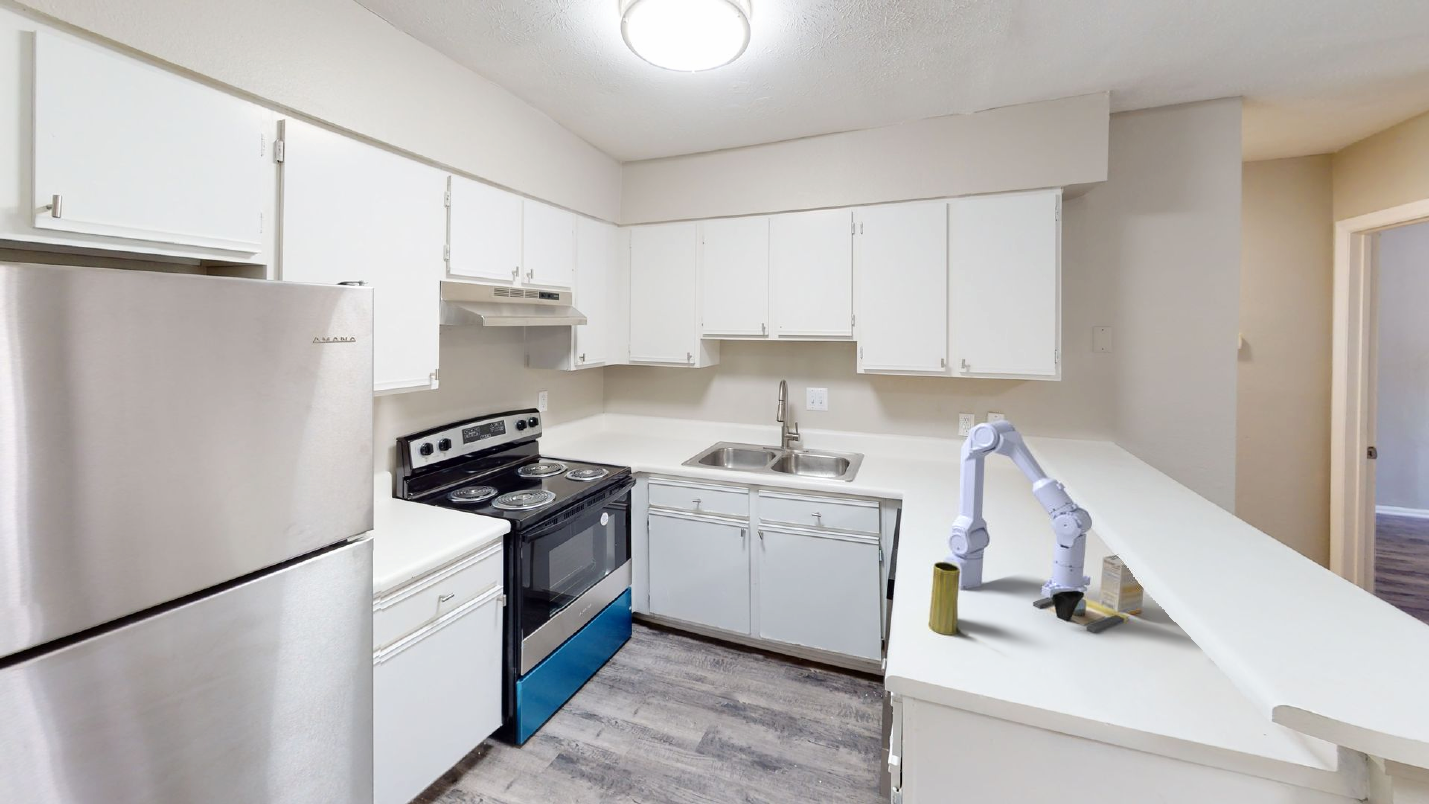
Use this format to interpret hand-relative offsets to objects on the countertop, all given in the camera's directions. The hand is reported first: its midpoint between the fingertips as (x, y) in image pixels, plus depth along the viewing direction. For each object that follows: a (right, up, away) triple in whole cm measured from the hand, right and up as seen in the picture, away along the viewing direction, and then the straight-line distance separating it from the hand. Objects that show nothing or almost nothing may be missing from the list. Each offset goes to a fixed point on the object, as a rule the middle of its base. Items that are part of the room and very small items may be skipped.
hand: (1063, 620), depth 127 cm
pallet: (+4, -1, +3) cm, 5 cm away
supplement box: (+17, -1, +7) cm, 19 cm away
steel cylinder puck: (+4, +1, +2) cm, 5 cm away
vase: (-28, -1, -1) cm, 28 cm away
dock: (+5, -1, +3) cm, 6 cm away
